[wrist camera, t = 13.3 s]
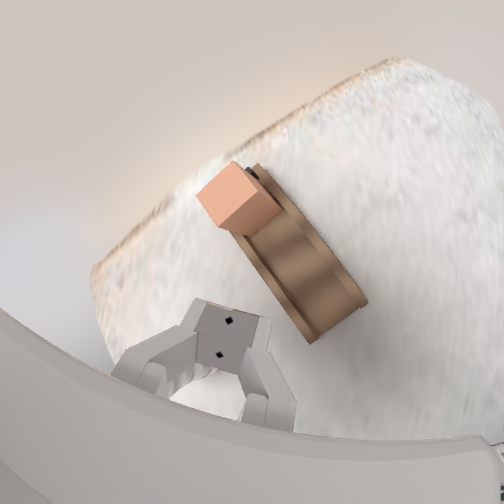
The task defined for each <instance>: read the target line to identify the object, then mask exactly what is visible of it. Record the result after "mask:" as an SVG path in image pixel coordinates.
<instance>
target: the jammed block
mask: <svg viewBox="0 0 504 504" xmlns="http://www.w3.org/2000/svg"><path fill="white" fill-rule="evenodd" d="M196 197H197V198H198V199H199V201H200V202H201V204H202V205H203V207H204V208H205V210H206V211H207V213H208V214H209V216H210V217H211V219H212V220H213V222H214V223H215V224H216V226H217V227H219V228H222V229H225V230H229V231H232V232H236V233H239V234H242V235H246V236H249V237H252V236H253V235H254V234H255V233H256V232H258V231H259V230H260V229H261V228H262V227H263V226H265V225H266V224H267V223H268V222H269V221H271V220H272V219H273V218H274V217H275V216H276V215H278V214H279V213H280V212H281V211H282V210H283V209H282V208H281V206H280V205H279V204H278V203H277V201H276V200H275V199H274V198H273V196H272V195H271V194H270V193H269V192H268V190H267V189H266V188H265V187H264V186H263V184H261V183H260V182H259V181H258V180H257V179H255V178H254V177H253V176H252V175H250V174H249V173H248V172H247V171H246V170H244V169H243V168H242V167H241V166H239V165H238V164H237V163H236V162H234V161H232V162H231V163H230V164H229V165H227V166H226V167H225V168H224V169H223V170H222V171H221V172H220V173H219V174H218V175H217V176H216V177H214V178H213V179H212V180H211V181H210V182H209V183H208V184H207V185H206V186H205V187H204V188H203V189H202V190H201V191H200V192H199V193H198V194H197V195H196Z"/></svg>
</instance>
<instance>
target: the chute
mask: <svg viewBox="0 0 504 504" xmlns="http://www.w3.org/2000/svg"><path fill="white" fill-rule="evenodd" d="M245 170H246V171H247V172H248V173H249V174H250V175H252V176H253V177H254V178H255V179H257V180H258V181H259V182H260V183H261V184H263V186H264V187H265V188H266V189H267V190H268V192H269V193H270V194H271V195H272V196H273V198H274V199H275V200H276V201H277V203H278V204H279V205H280V206H281V208H282V209H283V210H282V211H281V212H280V213H279V214H278V215H276V216H275V217H274V218H273V219H272V220H271V221H269V222H268V223H267V224H266V225H265V226H263V227H262V228H261V229H260V230H259V231H258V232H256V233H255V234H254V235H253V236H252V237H249V236H246V235H242V234H239V233H236V232H232V231H230V233H231V234H232V236H233V237H234V239H235V240H236V241H237V243H238V244H239V246H240V247H241V249H242V250H243V251H244V253H245V254H246V256H247V257H248V259H249V260H250V261H251V263H252V264H253V266H254V267H255V268H256V270H257V271H258V273H259V274H260V276H261V277H262V278H263V280H264V281H265V283H266V284H267V285H268V287H269V288H270V290H271V291H272V292H273V294H274V295H275V297H276V298H277V300H278V301H279V302H280V304H281V305H282V307H283V308H284V309H285V311H286V312H287V314H288V315H289V316H290V318H291V319H292V321H293V322H294V323H295V325H296V326H297V328H298V329H299V330H300V332H301V333H302V335H303V336H304V337H305V339H306V340H307V342H308V343H309V344H311V343H313V342H314V341H316V340H317V339H318V337H319V336H320V335H322V334H323V333H325V332H326V331H328V330H329V329H330V328H332V327H333V326H335V325H336V324H337V323H339V322H340V321H342V320H343V319H344V318H346V317H347V316H348V315H350V314H351V313H353V312H354V311H355V310H357V309H358V308H359V307H360V308H362V307H363V306H365V305H366V304H367V303H368V300H367V299H366V297H365V296H364V294H363V293H362V292H361V290H360V289H359V287H358V286H357V285H356V283H355V282H354V281H353V279H352V278H351V277H350V275H349V274H348V272H347V271H346V270H345V268H344V267H343V266H342V264H341V263H340V262H339V260H338V259H337V258H336V257H335V255H334V254H333V253H332V251H331V250H330V249H329V247H328V246H327V245H326V244H325V242H324V241H323V240H322V238H321V237H320V236H319V235H318V233H317V232H316V231H315V230H314V228H313V227H312V226H311V225H310V223H309V222H308V221H307V220H306V218H305V217H304V216H303V215H302V213H301V212H300V211H299V210H298V208H297V207H296V206H295V205H294V204H293V202H292V201H291V200H290V199H289V198H288V196H287V195H286V194H285V193H284V192H283V190H282V189H281V188H280V187H279V186H278V185H277V183H276V182H275V181H274V180H273V179H272V178H271V176H270V175H269V174H268V173H267V172H266V171H265V169H263V168H262V167H261V166H260V165H259V164H258V163H257V164H256V165H255V166H254V167H253V168H251V169H250V168H249V167H247V168H246V169H245Z"/></svg>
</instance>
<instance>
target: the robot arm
mask: <svg viewBox="0 0 504 504" xmlns="http://www.w3.org/2000/svg"><path fill="white" fill-rule="evenodd" d="M271 326H272V319H270V318H266V317H262V316H258V315H254V314H250V313H247V312H243V311H239V310H235V309H231V308H228V307H225V306H222V305H218V304H215V303H212V302H208V301H205V300H202V299H199V298H195V299H194V300H193V302H192V304H191V306H190V308H189V310H188V311H187V313H186V315H185V317H184V319H183V321H182V323H181V325H180V327H179V326H174V327H172V328H170V329H168V330H166V331H164V332H162V333H159V334H157V335H155V336H153V337H151V338H149V339H147V340H145V341H143V342H141V343H139V344H137V345H135V346H133V347H130V348H128V349H126V350H125V352H124V353H123V355H122V357H121V358H120V360H119V361H118V363H117V365H116V366H115V368H114V370H113V371H112V373H111V375H108V374H106V373H104V372H102V371H100V370H98V369H96V368H94V367H92V366H90V365H88V364H87V363H85V362H83V361H81V360H79V359H77V358H75V357H74V356H72V355H70V354H68V353H67V352H65V351H63V350H61V349H60V348H58V347H56V346H55V345H53V344H51V343H50V342H48V341H47V340H45V339H44V338H42V337H40V336H39V335H37V334H36V333H34V332H33V331H31V330H30V329H28V328H27V327H26V326H24V325H23V324H21V323H20V322H18V321H17V320H15V319H14V318H13V317H11V316H10V315H9V314H8V313H6V312H5V311H4V310H2V309H1V308H0V504H504V443H502V444H499V445H496V446H490V445H489V444H488V443H487V441H486V440H485V439H484V438H483V437H482V436H481V435H477V434H476V435H467V436H460V437H452V438H442V439H429V440H408V441H377V440H355V439H341V438H331V437H322V436H313V435H306V434H299V433H293V428H294V420H295V412H296V403H297V402H296V400H295V398H294V396H293V394H292V392H291V390H290V389H289V387H288V385H287V383H286V381H285V379H284V377H283V376H282V374H281V372H280V370H279V368H278V366H277V364H276V362H275V360H274V359H273V357H272V355H271V353H269V352H267V347H268V342H269V337H270V332H271ZM195 362H196V363H199V364H203V365H206V366H210V367H213V368H217V369H220V370H223V371H227V372H230V373H233V374H236V375H238V377H239V380H240V383H241V386H242V389H243V392H244V394H245V397H246V401H245V403H244V405H243V408H242V410H241V413H240V415H239V417H238V420H237V421H235V420H232V419H228V418H224V417H220V416H217V415H213V414H210V413H207V412H203V411H200V410H197V409H194V408H191V407H188V406H185V405H182V404H179V403H176V402H173V401H170V400H169V395H168V385H167V383H169V382H170V381H172V380H173V379H174V378H176V377H177V376H179V375H180V374H182V373H183V372H184V371H186V370H187V369H189V368H190V367H191V366H193V365H194V364H195Z"/></svg>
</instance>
